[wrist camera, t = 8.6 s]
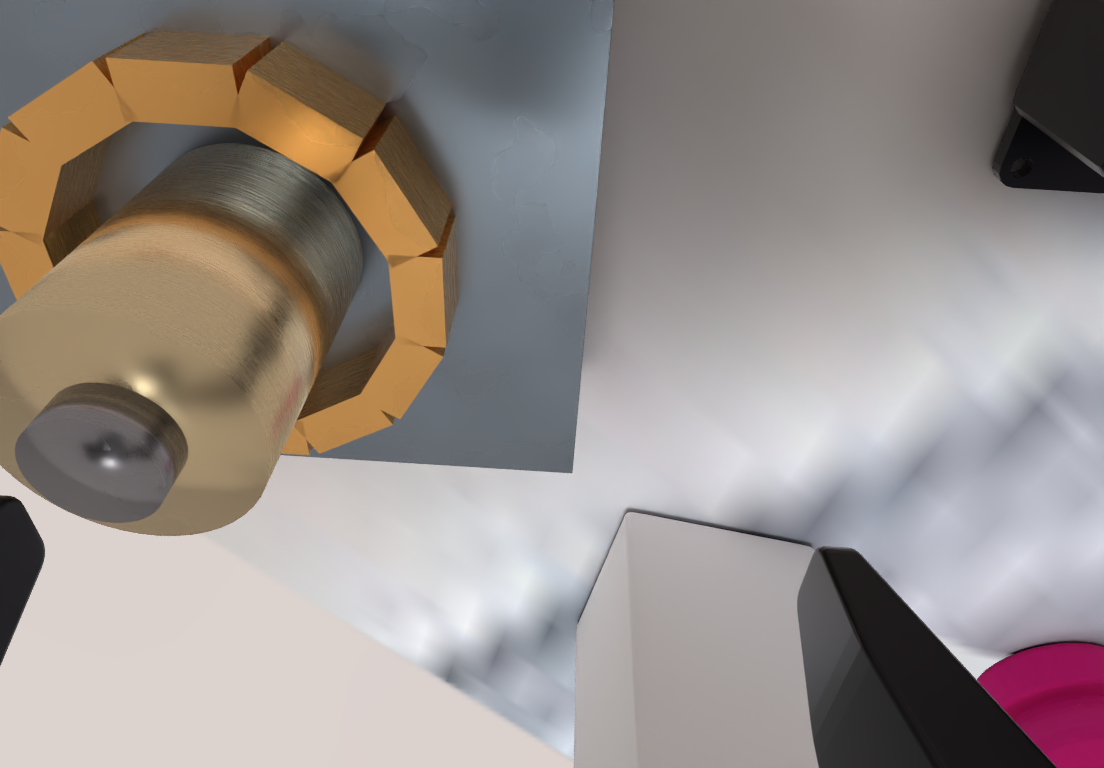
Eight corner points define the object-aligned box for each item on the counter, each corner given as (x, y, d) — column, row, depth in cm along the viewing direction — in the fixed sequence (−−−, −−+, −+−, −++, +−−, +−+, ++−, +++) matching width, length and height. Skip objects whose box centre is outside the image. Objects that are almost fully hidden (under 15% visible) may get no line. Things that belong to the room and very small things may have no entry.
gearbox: (612, -93, 16) (622, -41, 11) (575, 368, 23) (570, 525, 18) (-201, -142, 16) (-557, -113, 11) (17, 334, 23) (-138, 481, 18)
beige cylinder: (350, 150, 15) (214, 356, 9) (372, 339, 17) (275, 583, 12) (122, 135, 15) (-145, 333, 9) (178, 326, 17) (-5, 565, 12)
